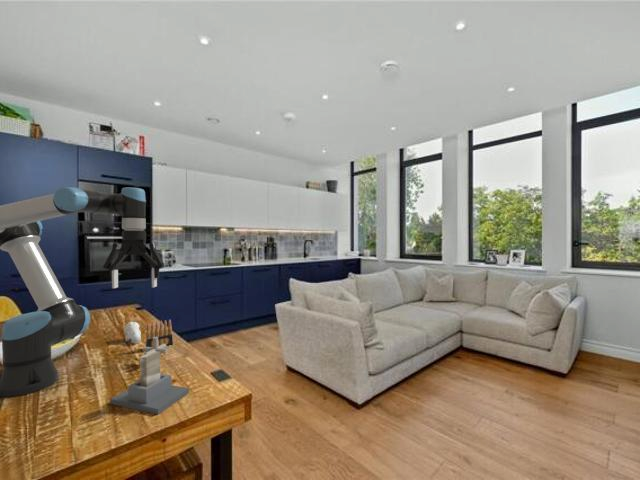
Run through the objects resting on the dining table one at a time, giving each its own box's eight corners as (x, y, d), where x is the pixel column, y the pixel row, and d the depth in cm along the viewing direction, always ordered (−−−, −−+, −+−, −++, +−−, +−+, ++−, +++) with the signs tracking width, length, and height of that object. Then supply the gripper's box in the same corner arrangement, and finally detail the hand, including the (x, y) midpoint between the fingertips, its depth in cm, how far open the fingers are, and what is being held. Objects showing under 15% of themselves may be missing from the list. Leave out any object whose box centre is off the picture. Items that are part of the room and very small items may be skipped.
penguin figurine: (138, 319, 149) (145, 326, 140) (138, 336, 149) (144, 344, 141) (123, 321, 144) (129, 329, 136) (123, 339, 145) (129, 348, 136)
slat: (140, 396, 91) (139, 357, 90) (154, 388, 95) (153, 351, 95) (147, 398, 90) (146, 358, 90) (160, 389, 95) (160, 351, 94)
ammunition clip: (146, 351, 130) (146, 323, 130) (145, 350, 131) (145, 322, 131) (172, 345, 137) (172, 318, 137) (171, 344, 139) (171, 318, 139)
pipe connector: (157, 369, 112) (157, 342, 112) (134, 367, 114) (134, 341, 114) (175, 358, 122) (175, 334, 122) (154, 356, 124) (153, 332, 124)
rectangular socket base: (110, 403, 90) (109, 385, 90) (144, 384, 101) (144, 368, 101) (158, 414, 84) (157, 394, 84) (189, 392, 96) (188, 375, 96)
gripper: (173, 230, 117) (173, 284, 117) (103, 230, 114) (104, 286, 114) (166, 229, 110) (166, 288, 110) (91, 229, 106) (92, 290, 107)
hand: (134, 287), depth 112 cm, fingers open, 13 cm apart
